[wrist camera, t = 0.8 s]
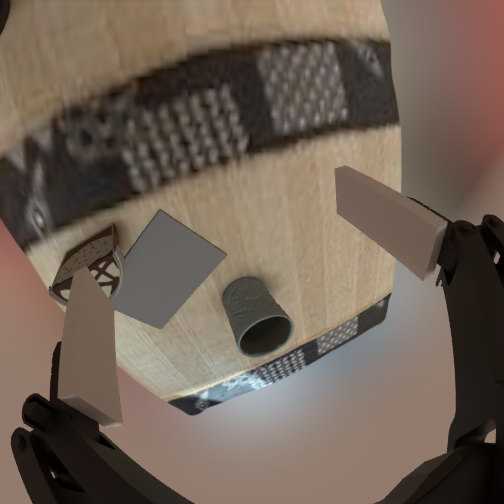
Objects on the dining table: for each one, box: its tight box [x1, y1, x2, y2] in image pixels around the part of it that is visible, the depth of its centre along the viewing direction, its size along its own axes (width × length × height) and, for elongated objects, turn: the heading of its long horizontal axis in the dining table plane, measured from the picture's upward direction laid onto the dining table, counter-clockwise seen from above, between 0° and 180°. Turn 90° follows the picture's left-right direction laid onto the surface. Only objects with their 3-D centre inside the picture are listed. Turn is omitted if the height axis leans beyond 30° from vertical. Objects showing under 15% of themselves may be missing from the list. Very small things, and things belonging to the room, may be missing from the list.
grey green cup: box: [223, 277, 294, 358], centre depth 48 cm, size 10×10×12 cm
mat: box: [111, 210, 227, 329], centre depth 44 cm, size 14×20×1 cm
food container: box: [49, 223, 125, 307], centre depth 34 cm, size 12×6×10 cm, turn 109°
